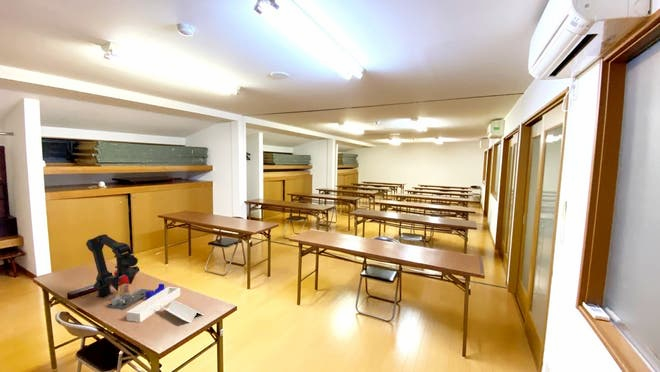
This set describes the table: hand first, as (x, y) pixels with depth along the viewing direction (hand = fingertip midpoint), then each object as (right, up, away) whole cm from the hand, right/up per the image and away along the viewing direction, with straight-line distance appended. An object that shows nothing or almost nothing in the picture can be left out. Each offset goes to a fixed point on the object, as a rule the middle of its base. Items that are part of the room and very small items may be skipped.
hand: (124, 287), depth 174 cm
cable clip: (+15, -9, +7) cm, 19 cm away
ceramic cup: (-20, -7, +26) cm, 33 cm away
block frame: (+24, -10, -6) cm, 27 cm away
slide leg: (+2, -7, 0) cm, 7 cm away
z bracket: (+44, -11, -13) cm, 48 cm away
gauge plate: (+3, -9, +2) cm, 10 cm away
